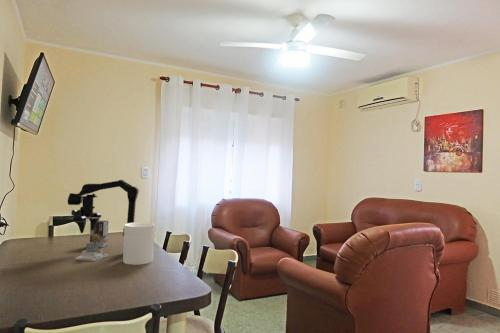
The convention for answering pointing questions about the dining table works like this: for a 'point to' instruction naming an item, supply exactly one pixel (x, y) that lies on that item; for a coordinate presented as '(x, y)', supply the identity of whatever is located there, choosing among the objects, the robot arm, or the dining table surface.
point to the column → (92, 246)
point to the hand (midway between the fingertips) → (87, 231)
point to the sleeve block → (91, 255)
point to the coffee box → (100, 233)
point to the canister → (138, 243)
